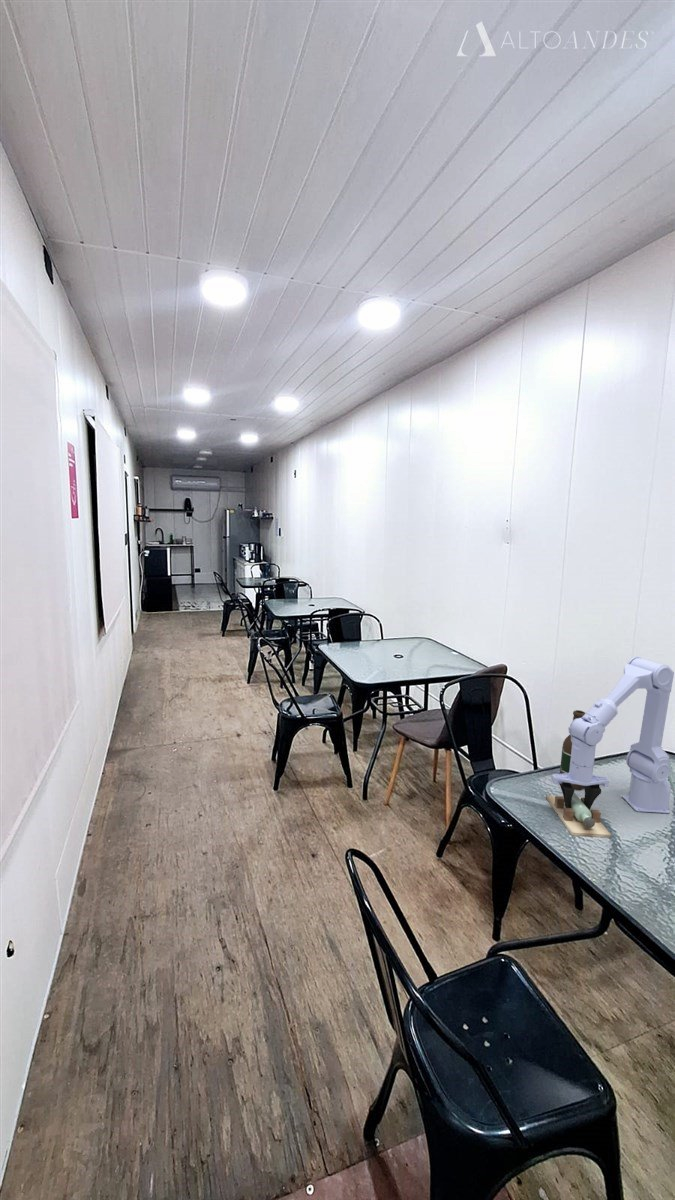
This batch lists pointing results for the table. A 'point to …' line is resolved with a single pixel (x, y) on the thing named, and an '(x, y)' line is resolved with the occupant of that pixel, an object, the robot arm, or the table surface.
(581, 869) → the table surface
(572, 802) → the bottle
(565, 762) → the beer bottle
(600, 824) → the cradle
